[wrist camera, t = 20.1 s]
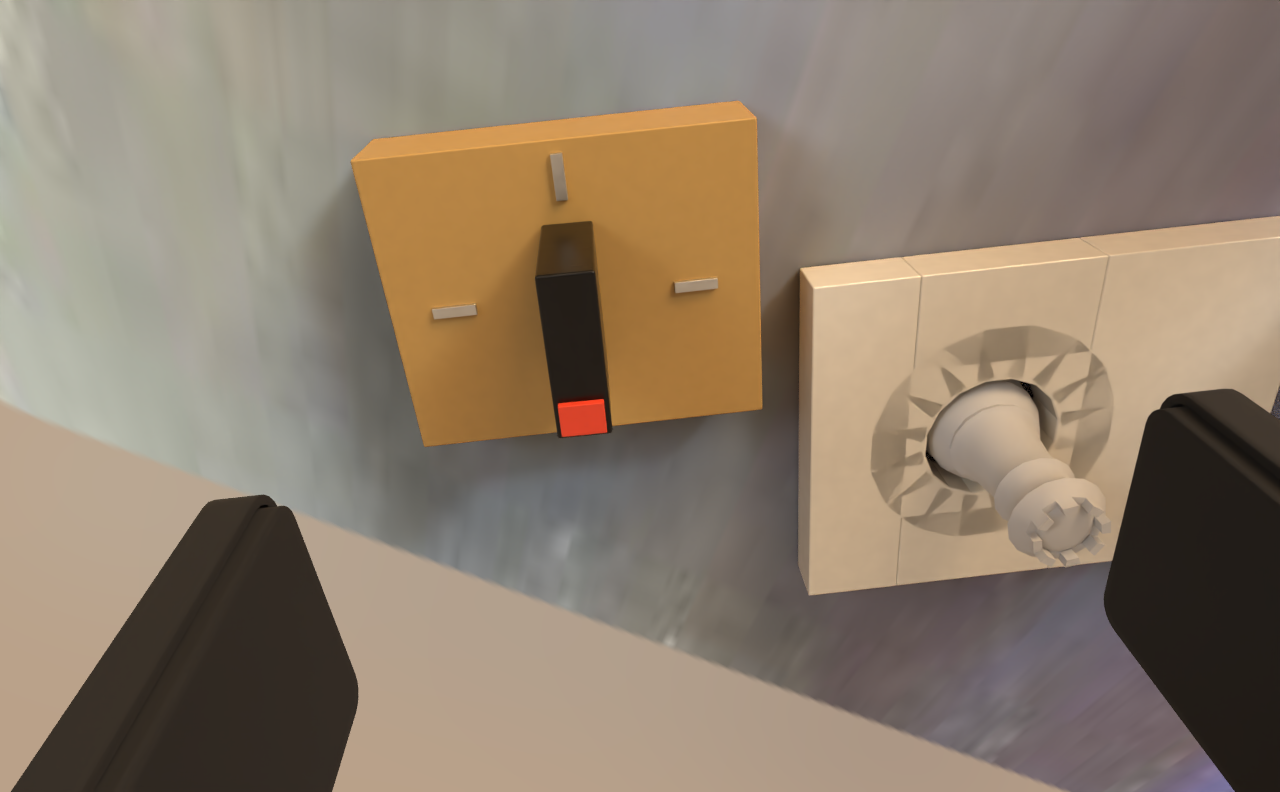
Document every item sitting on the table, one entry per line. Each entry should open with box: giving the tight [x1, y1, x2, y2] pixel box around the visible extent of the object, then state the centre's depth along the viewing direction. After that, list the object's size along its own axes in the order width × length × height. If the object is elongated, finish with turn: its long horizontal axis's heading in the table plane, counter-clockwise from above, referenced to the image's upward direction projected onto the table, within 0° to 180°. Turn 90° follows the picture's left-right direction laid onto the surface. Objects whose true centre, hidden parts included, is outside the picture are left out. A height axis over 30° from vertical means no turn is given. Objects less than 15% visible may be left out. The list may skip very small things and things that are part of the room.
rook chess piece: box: [926, 379, 1111, 568], centre depth 30 cm, size 4×4×8 cm
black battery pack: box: [535, 221, 612, 438], centre depth 24 cm, size 5×2×5 cm, turn 4°
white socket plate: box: [798, 216, 1280, 596], centre depth 32 cm, size 18×14×2 cm
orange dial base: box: [351, 101, 762, 447], centre depth 28 cm, size 12×10×3 cm
